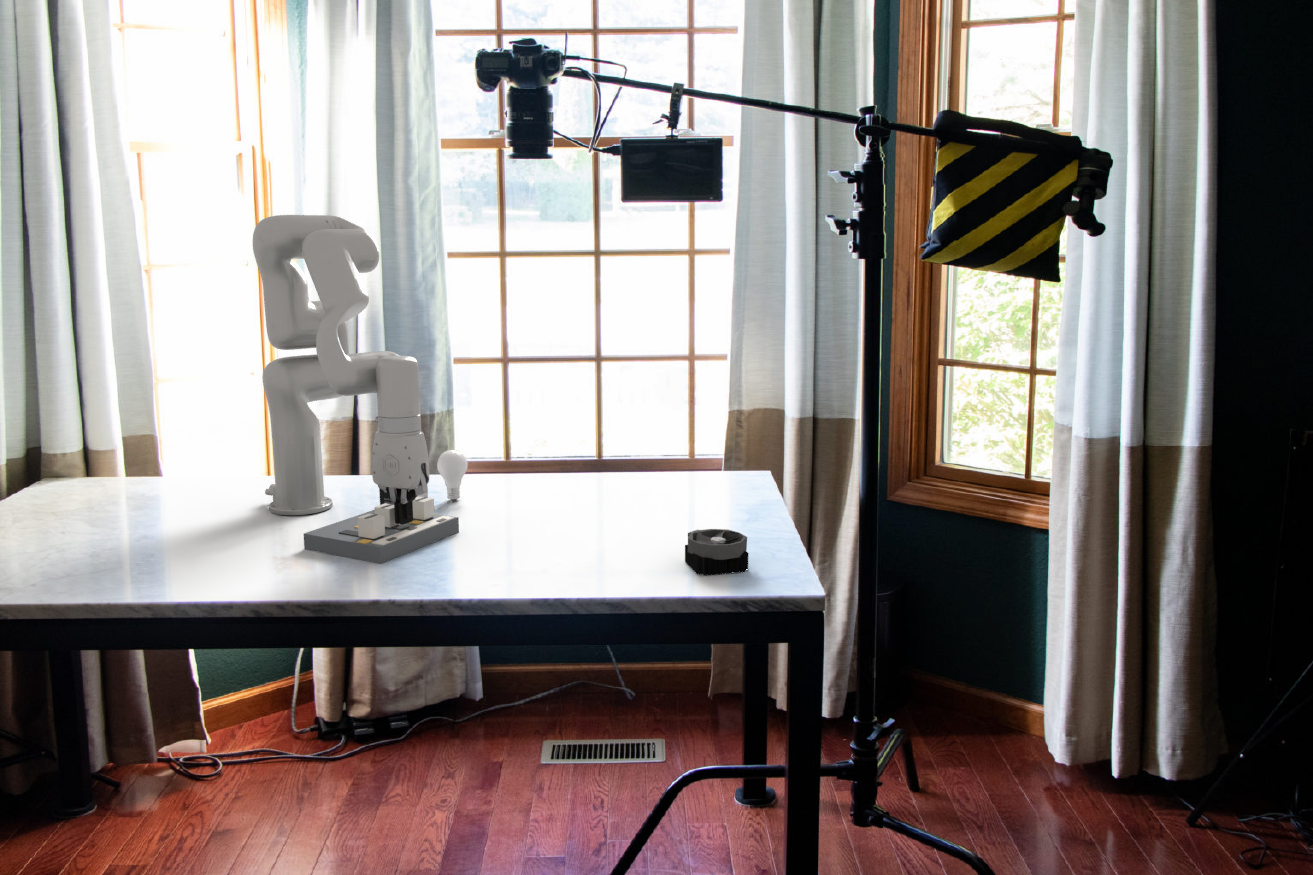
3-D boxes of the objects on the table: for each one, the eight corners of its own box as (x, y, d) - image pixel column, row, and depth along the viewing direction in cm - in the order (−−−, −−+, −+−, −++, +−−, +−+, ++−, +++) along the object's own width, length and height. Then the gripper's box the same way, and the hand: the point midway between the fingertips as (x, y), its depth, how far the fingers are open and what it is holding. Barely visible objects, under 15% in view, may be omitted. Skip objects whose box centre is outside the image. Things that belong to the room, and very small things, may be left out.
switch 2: (375, 525, 200) (374, 506, 199) (386, 521, 203) (385, 502, 202) (390, 527, 199) (389, 508, 198) (400, 523, 201) (400, 504, 200)
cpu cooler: (754, 541, 182) (697, 546, 180) (753, 574, 184) (696, 578, 181) (734, 525, 192) (680, 529, 190) (734, 556, 193) (680, 560, 191)
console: (304, 549, 196) (303, 531, 196) (386, 520, 215) (385, 504, 215) (380, 563, 188) (380, 545, 188) (459, 532, 207) (458, 515, 207)
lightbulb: (465, 504, 228) (463, 453, 226) (435, 504, 228) (433, 453, 226) (471, 496, 234) (469, 447, 232) (442, 496, 234) (440, 447, 232)
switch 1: (358, 536, 193) (357, 516, 192) (370, 532, 196) (369, 512, 195) (373, 538, 191) (372, 519, 191) (385, 534, 194) (384, 515, 193)
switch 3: (409, 517, 205) (408, 499, 204) (420, 514, 208) (419, 495, 207) (424, 520, 204) (423, 501, 203) (434, 516, 206) (433, 497, 206)
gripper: (353, 424, 195) (358, 522, 199) (418, 431, 189) (423, 533, 192) (381, 417, 202) (386, 512, 205) (445, 424, 195) (449, 522, 199)
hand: (404, 522), depth 199 cm, fingers closed
